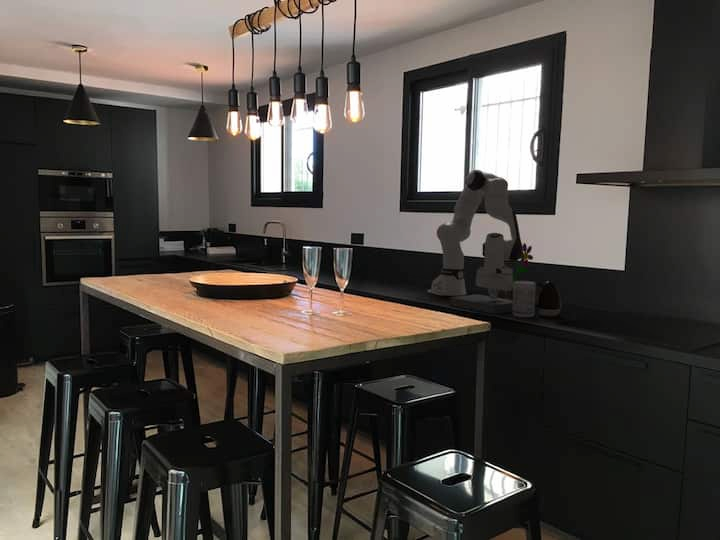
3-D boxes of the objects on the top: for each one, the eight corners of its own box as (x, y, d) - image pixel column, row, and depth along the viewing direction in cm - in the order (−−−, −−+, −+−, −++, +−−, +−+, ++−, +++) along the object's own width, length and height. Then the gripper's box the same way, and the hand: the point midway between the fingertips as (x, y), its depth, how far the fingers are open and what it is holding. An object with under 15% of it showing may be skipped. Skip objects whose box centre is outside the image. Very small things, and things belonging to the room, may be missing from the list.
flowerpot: (521, 306, 278) (523, 243, 275) (496, 303, 289) (498, 242, 286) (538, 303, 288) (540, 242, 284) (513, 300, 298) (515, 241, 295)
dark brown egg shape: (536, 313, 262) (537, 279, 261) (560, 314, 259) (561, 280, 257) (535, 317, 253) (536, 282, 251) (561, 318, 249) (562, 283, 248)
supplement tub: (515, 312, 262) (516, 280, 261) (537, 314, 258) (538, 281, 256) (509, 316, 254) (510, 282, 252) (531, 318, 249) (532, 284, 248)
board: (450, 305, 282) (450, 297, 281) (477, 302, 292) (477, 294, 291) (493, 314, 258) (493, 305, 258) (521, 310, 268) (521, 301, 268)
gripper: (472, 267, 276) (472, 296, 277) (505, 271, 259) (504, 302, 260) (482, 266, 279) (481, 295, 281) (515, 270, 262) (514, 300, 264)
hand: (493, 298), depth 270 cm, fingers closed
